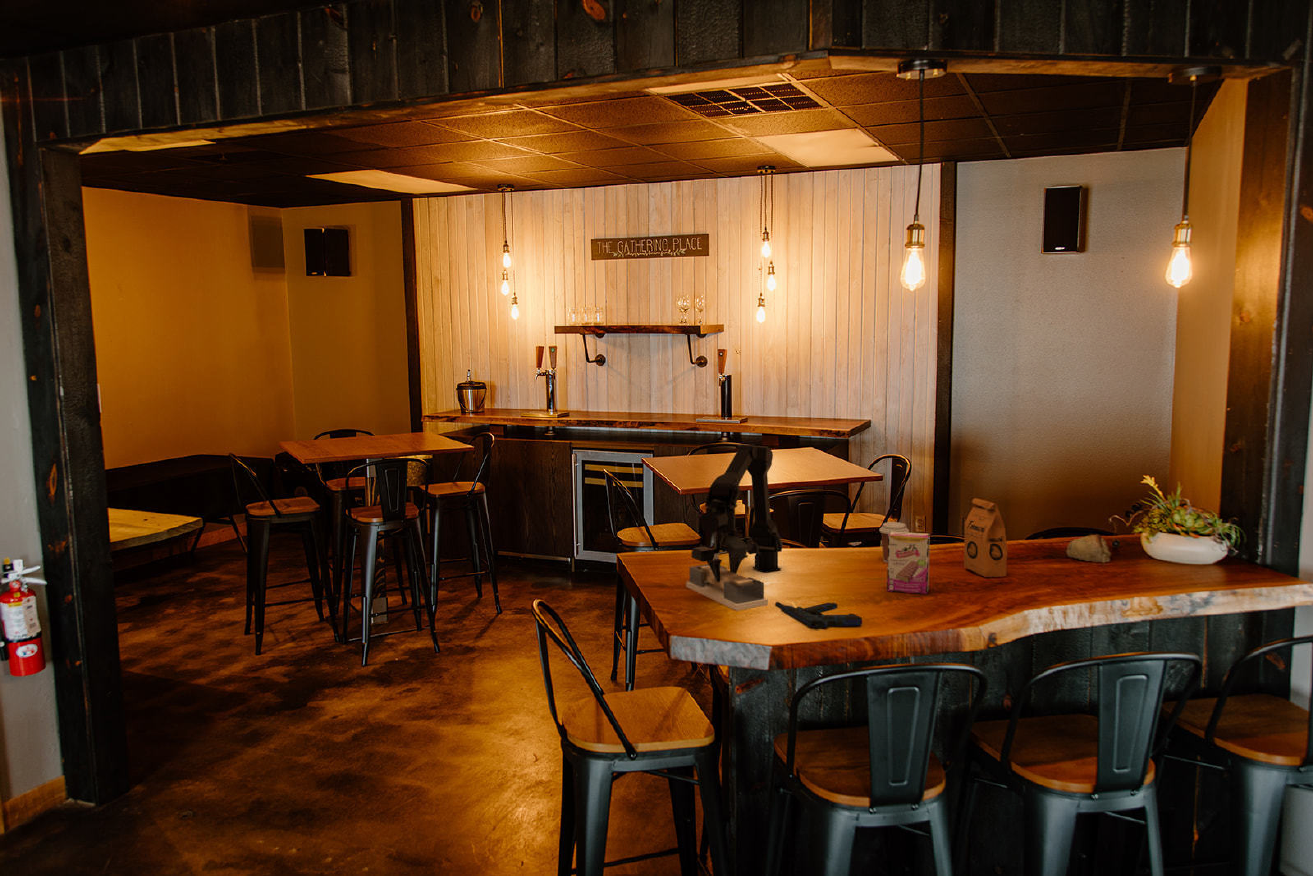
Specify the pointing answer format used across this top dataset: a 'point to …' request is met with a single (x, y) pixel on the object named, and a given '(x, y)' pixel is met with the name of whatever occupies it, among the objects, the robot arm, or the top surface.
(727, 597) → the end caps
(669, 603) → the top surface
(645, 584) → the top surface
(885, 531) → the coffee cup
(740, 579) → the beige rectangular bar
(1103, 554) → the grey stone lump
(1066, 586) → the top surface
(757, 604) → the end-cap board
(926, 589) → the candy bar box
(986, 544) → the coffee package
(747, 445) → the robot arm
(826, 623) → the gun
